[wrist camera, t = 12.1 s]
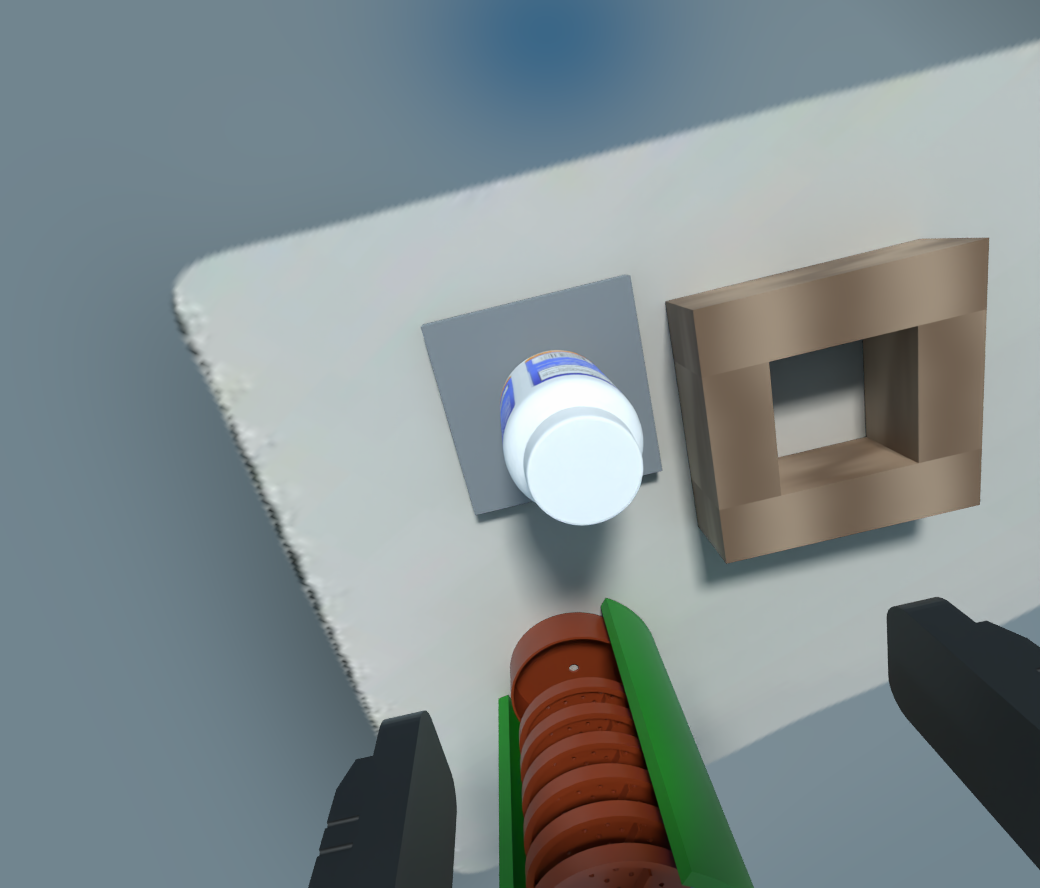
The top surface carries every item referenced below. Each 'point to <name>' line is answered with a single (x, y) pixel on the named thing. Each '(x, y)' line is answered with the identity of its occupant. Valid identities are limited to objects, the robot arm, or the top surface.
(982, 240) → the socket block
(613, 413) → the pill bottle
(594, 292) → the mat
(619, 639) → the green brown cylinder
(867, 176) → the top surface
